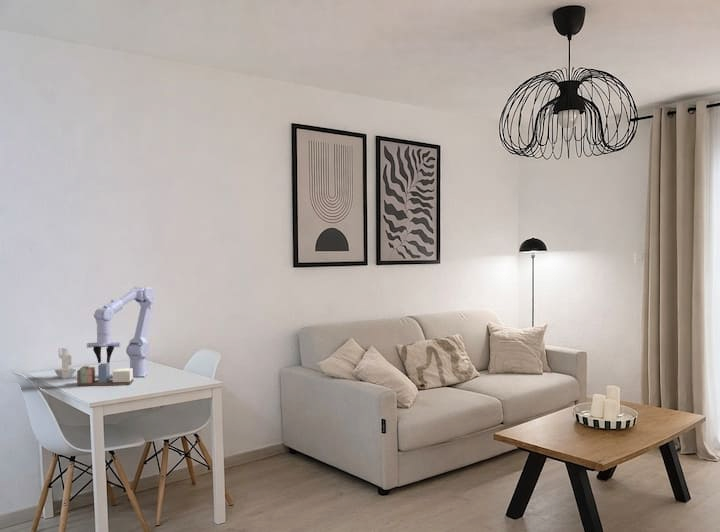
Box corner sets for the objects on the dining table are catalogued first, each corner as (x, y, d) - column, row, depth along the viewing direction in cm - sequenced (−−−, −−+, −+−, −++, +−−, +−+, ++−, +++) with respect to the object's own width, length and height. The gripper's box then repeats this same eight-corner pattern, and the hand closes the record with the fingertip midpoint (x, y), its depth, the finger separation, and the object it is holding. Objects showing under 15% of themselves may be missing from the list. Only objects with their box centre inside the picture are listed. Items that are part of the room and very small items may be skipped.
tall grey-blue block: (101, 380, 292) (101, 363, 292) (109, 380, 292) (109, 363, 292) (98, 383, 286) (98, 365, 286) (106, 382, 286) (106, 365, 286)
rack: (82, 382, 291) (82, 365, 291) (133, 381, 295) (133, 364, 295) (77, 386, 283) (77, 368, 283) (129, 384, 287) (129, 367, 287)
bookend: (116, 379, 293) (116, 368, 293) (132, 378, 294) (132, 368, 294) (112, 382, 286) (112, 371, 286) (129, 381, 287) (129, 371, 287)
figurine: (62, 379, 297) (62, 348, 296) (53, 377, 302) (52, 346, 302) (77, 377, 302) (76, 346, 302) (67, 374, 308) (67, 344, 308)
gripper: (84, 335, 283) (85, 364, 284) (118, 334, 285) (118, 363, 286) (89, 332, 290) (89, 361, 291) (121, 332, 292) (121, 361, 293)
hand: (103, 362), depth 289 cm, fingers open, 3 cm apart
